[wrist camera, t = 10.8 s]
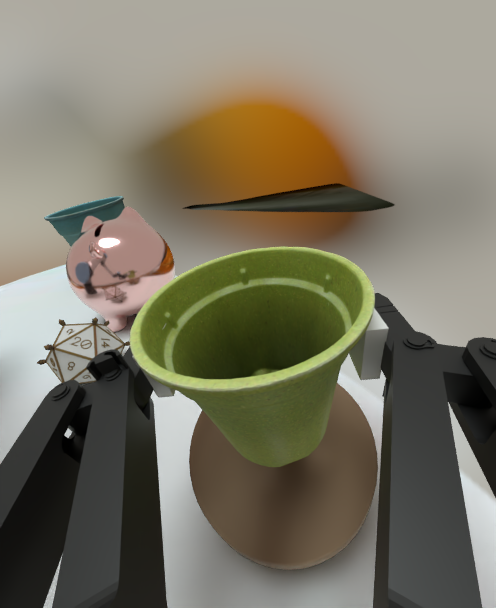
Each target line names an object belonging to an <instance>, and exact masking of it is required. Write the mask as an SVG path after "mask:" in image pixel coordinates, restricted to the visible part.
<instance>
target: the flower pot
mask: <svg viewBox="0 0 496 608" xmlns="http://www.w3.org/2000/svg"><path fill="white" fill-rule="evenodd" d="M123 199H124V198H123V196H116V197H110V198H106V199H101V200H96V201H93V202H88V203H84V204H80V205H77V206H73V207H70V208H67V209H64V210H61V211H58V212H55V213H53V214H50V215H48V216H46V217H44V219H45V220H47V221H49V222H50V223H51V224H52V225H53V226H54V228H55V229H56V230H57V231H58V233H59V234H60V235H62V236H63V237H64V238H65V239H66V241H67V242H68V243H69V245H70V246H71V247H72V245H73V244H74V242H75V241H76V240H77V238H78V237H79V235H80V232H81V229H82V226H83V222H84V220H85V218H86V217H87V216H94V217H96V218H98V219H100V220H101V221H103V222H104V221H107V220H112V219H116V218H117V217H119V216H120V214H121V213H122V211H123V209H124V208H125V207H124V204H123Z"/></svg>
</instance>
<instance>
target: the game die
mask: <svg viewBox="0 0 496 608" xmlns="http://www.w3.org/2000/svg"><path fill="white" fill-rule="evenodd" d="M92 320H93V321H92V322H93V323H87V324H67V325H66V324H65V322H64V320H60V319H59V323H60V325H62V326H63V327H62V329H61V331H60V333H59V334H58V336H57V338H56V340H55V342H54V344H53V346H52V345H49V344H48V345H47V346H44V348H45V350H50V352H49V354H48V356H47V358H46V360H39V361H38V362H37V363H38V364H40V365H42V364H44V363H47V364H48V365H49V367H50V368H51V369H52V371H53V372H54V373H55V375H56V376H57V377H58V378H59V380H60V381H61V382H62V383H63V382H66V381H68V380H76V381H78V382H79V383H80V384H82V383H89V382H95V381H96V379H95V378H94V377H93V376H92V374H91V373H90V372H89V371H88V370H87V368H86V366H87V365H88V363H89V362H90V361H91V360H92V359H93V358H94V357H95V356H97V355H98V354H100V353H102V352H104V351H107V350H111V349H116V350H118V351H119V352H120V354H121V353H122V351H123V349H124V346H125V345H126V346H128V345H130V342H129V341H128V342H126V343H124V342H123V341H122V340H121V339H120V338H119V337H117V336H116V335H115V334H114V333H113V332H112V331H111V330H110V329H109V328H108V327H107V325H108V324H110V323H109V320H108V321H106V322H105V323H104V325H102V324H96V323H97V321H98V319H97V318H94V319H92Z"/></svg>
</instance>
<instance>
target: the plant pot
mask: <svg viewBox="0 0 496 608" xmlns="http://www.w3.org/2000/svg"><path fill="white" fill-rule="evenodd" d="M374 305H375V294H374V289H373V286H372V284H371V282H370V280H369V278H368V277H367V276H366V275H365V273H364V272H363V270H361V269H360V268H359V267H358V266H357V265H356V264H354V263H352V262H351V261H349V260H347V259H346V258H344V257H342V256H338V255H336V254H333V253H329V252H325V251H321V250H317V249H312V248H304V247H271V248H259V249H253V250H247V251H243V252H239V253H233V254H230V255H227V256H224V257H220V258H218V259H214V260H211V261H209V262H206V263H204V264H202V265H200V266H197V267H195V268H193V269H191V270H189V271H187V272H185V273H183V274H181V275H180V276H178V277H176V278H175V279H173V280H172V281H170V282H169V283H167V284H166V285H164V286H163V287H161V288H160V289H159V290H158V291H157V292H156V293H155V294H153V295H152V296H151V297H150V298H149V299H148V301H147V302H146V303H145V304H144V306H143V307H142V308H141V310H140V311H139V313H138V314H137V316H136V318H135V321H134V323H133V325H132V328H131V331H130V348H131V351H132V354H133V356H134V359H135V360H136V362H137V363H138V364H139V366H140V367H141V369H142V370H143V371H144V372H145V373H146V374H147V375H148V376H150V377H151V378H152V379H154V380H155V381H157V382H159V383H161V384H163V385H165V386H167V387H169V388H172V389H175V390H177V391H179V392H181V393H182V394H183V395H185V396H186V397H188V398H190V399H191V400H194V401H195V402H196V403H197V404H198V405H199V406H200V407H201V409H202V410H203V411H204V412H205V413H206V414H207V416H208V417H209V418H210V419H211V420H212V421H213V423H214V424H215V425H216V426H217V427H218V428H219V430H220V431H221V432H222V434H223V435H224V436H225V437H226V438H227V440H228V441H229V442H230V443H231V444H232V445H233V447H234V448H235V449H236V450H237V451H238V452H239V453H240V454H241V455H242V456H243V457H245V458H246V459H248V460H249V461H251V462H254V463H256V464H259V465H263V466H267V467H281V466H284V465H286V464H289V463H292V462H294V461H297V460H299V459H302V458H304V457H306V456H308V455H309V454H311V453H312V452H313V451H314V450H315V449H316V448H317V446H318V445H319V443H320V442H321V440H322V439H323V436H324V434H325V431H326V428H327V423H328V419H329V414H330V410H331V405H332V401H333V397H334V392H335V388H336V384H337V380H338V375H339V371H340V367H341V365H342V363H343V362H344V360H345V359H346V357H347V355H348V353H349V351H350V350H351V349H352V348H353V347H354V346H355V345H356V344H357V343H358V341H359V340H360V339H361V337H362V336H363V335H364V333H365V332H366V330H367V328H368V326H369V324H370V322H371V319H372V315H373V311H374ZM165 324H166V325H165ZM164 326H165V327H164ZM163 328H164V329H163Z"/></svg>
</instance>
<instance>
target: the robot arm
mask: <svg viewBox="0 0 496 608" xmlns="http://www.w3.org/2000/svg"><path fill="white" fill-rule="evenodd" d="M374 294H375V305H374V311H373V315H372V319H371V322H370V324H369V326H368V328H367V330H366V332H365V333H364V335H363V336H362V337H361V339H360V340H359V341H358V343H357V344H356V345H355V346H354V347H353V348H352V349H351V350H350V351H349V354H350V357H351V359H352V361H353V364H354V366H355V368H356V371H357V373H358V375H359V378H360V380H367V379H378V378H380V373H381V370H382V371H383V373H384V375H385V377H386V382H385V386H384V391H383V396H384V409H383V428H382V447H381V466H380V485H379V504H378V523H377V542H376V561H375V580H374V599H373V608H482V604H481V598H480V592H479V586H478V580H477V574H476V568H475V562H474V556H473V550H472V544H471V538H470V532H469V526H468V520H467V514H466V508H465V502H464V496H463V490H462V484H461V478H460V472H459V466H458V461H457V455H456V448H455V442H454V437H453V431H452V424H451V418H450V413H449V406H448V402H449V404H450V406H451V408H452V409H453V412H454V414H455V416H456V418H457V420H458V422H459V424H460V426H461V428H462V430H463V432H464V434H465V437H466V438H467V441H468V443H469V445H470V447H471V449H472V451H473V453H474V455H475V457H476V459H477V461H478V463H479V465H480V467H481V469H482V471H483V473H484V475H485V477H486V479H487V481H488V483H489V485H490V487H491V489H492V492H493V494H494V496H495V498H496V339H493V338H484V337H482V338H474V339H472V340H470V341H469V342H468V344H467V346H466V347H457V346H448V345H441V344H437V343H436V341H435V340H434V339H432V338H431V337H430V336H427V335H426V334H423V333H420V332H416V331H414V330H413V328H412V327H411V326H410V325H409V323H408V322H407V321H406V320H405V318H404V317H403V316H402V315H401V314H400V312H398V310H397V309H396V308H395V307H394V306H393V304H392V303H391V302H390V301H389V299H388V298H386V297H385V296H383V295H381V294H379V293H374ZM165 325H166V324H165ZM164 327H165V326H164ZM163 329H164V328H163ZM86 368H87V370H88V371H89V372H90V373H91V374H92V376H93V377H94V378H95V379H96V381H95V382H92V383H89V384H86V385H83V386H81V384H80V383H79V382H78V381H76V380H68V381H66V382H63V383H61V384H59V385H57V386H56V387H55V388H54V389H52V390H51V391H50V392H49V393H48V394H47V396H46V397H45V398H44V400H43V401H42V403H41V404H40V406H39V407H38V409H37V410H36V412H35V413H34V415H33V416H32V418H31V419H30V421H29V422H28V424H27V425H26V427H25V428H24V430H23V431H22V433H21V434H20V436H19V437H18V439H17V440H16V442H15V443H14V445H13V446H12V448H11V449H10V451H9V452H8V454H7V455H6V457H5V458H4V460H3V461H2V463H1V464H0V608H43V606H44V603H45V600H46V598H47V595H48V592H49V589H50V586H51V584H52V581H53V578H54V575H55V573H56V570H57V567H58V564H59V562H60V559H61V556H62V560H61V566H60V571H59V576H58V581H57V586H56V591H55V596H54V601H53V606H52V608H167V600H166V587H165V571H164V556H163V541H162V526H161V511H160V495H159V480H158V465H157V450H156V434H155V419H154V404H153V401H152V399H151V398H150V396H151V394H152V392H153V390H154V392H155V393H156V395H157V396H158V397H169V396H174V393H175V389H172V388H169V387H167V386H165V385H163V384H161V383H159V382H157V381H155V380H154V379H152V378H151V377H150V376H148V375H147V374H146V373H145V372H144V371H143V370H142V369H141V367H140V366H139V364H138V363H137V362H136V360H135V359H134V356H133V354H132V351H131V348H130V347H129V349H128V350H127V352H126V353H125V355H124V356H123V357H122V355H121V354H120V352H119V351H118V350H116V349H111V350H107V351H104V352H102V353H100V354H98V355H97V356H95V357H94V358H93V359H92V360H91V361H90V362H89V363H88V365H87V366H86ZM67 428H69V429H70V430H71V431H72V434H71V435H70V437H69V438H67V437H65V436H64V434H65V432H66V430H67ZM62 553H63V555H62Z"/></svg>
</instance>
